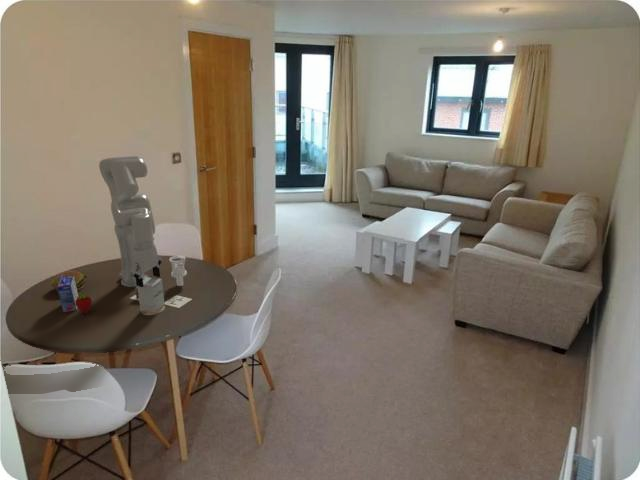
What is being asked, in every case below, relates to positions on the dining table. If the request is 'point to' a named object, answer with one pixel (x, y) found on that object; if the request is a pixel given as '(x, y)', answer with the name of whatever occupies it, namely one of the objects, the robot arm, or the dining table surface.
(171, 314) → the dining table surface
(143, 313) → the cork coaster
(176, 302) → the code tile
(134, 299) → the code tile
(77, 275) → the food
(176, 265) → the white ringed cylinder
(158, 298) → the supplement box
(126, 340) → the dining table surface
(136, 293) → the walnut block
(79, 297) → the strawberry
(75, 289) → the ink cartridge box
